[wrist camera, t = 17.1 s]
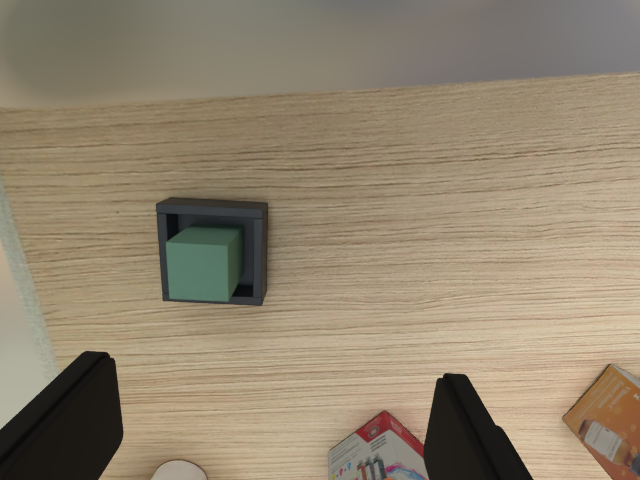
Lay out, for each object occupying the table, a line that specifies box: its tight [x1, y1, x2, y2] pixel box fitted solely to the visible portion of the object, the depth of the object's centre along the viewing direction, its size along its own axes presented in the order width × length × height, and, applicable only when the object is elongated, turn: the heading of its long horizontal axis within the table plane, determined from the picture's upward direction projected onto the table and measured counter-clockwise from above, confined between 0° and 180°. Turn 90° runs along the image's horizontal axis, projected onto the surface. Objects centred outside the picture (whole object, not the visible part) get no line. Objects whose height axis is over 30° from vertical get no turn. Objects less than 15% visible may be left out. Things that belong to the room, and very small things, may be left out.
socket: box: [156, 197, 268, 306], centre depth 32 cm, size 9×9×3 cm
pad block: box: [166, 223, 244, 302], centre depth 30 cm, size 4×4×6 cm
